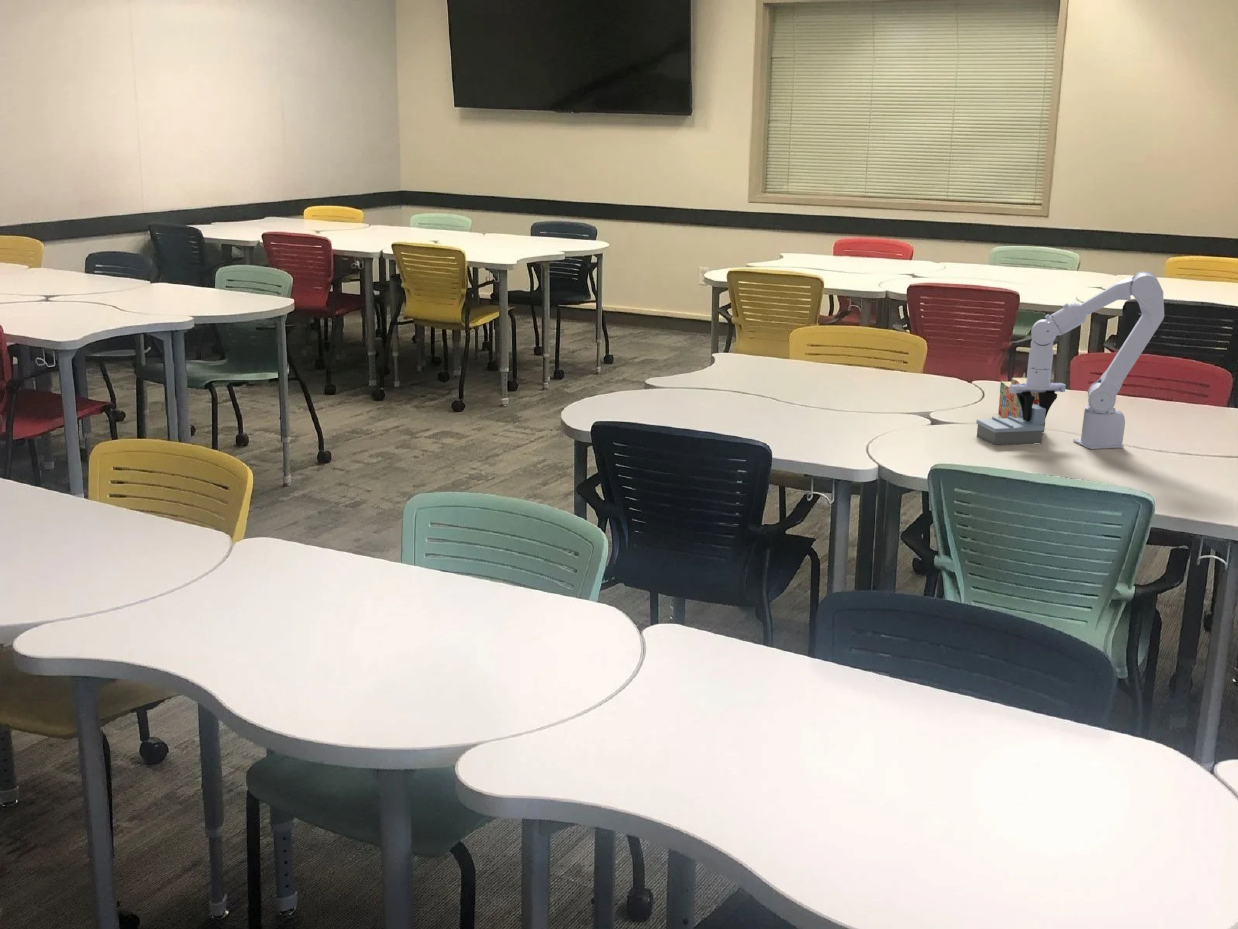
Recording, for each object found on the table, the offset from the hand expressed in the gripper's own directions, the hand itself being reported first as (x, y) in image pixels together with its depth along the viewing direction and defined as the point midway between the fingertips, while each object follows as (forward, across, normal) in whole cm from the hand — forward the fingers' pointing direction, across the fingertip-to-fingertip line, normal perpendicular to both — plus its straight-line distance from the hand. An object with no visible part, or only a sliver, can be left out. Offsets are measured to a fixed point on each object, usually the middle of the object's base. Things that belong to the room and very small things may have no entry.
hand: (1033, 420), depth 305 cm
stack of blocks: (+5, -6, -16) cm, 18 cm away
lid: (+2, +6, 0) cm, 7 cm away
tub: (+5, +6, 0) cm, 8 cm away
